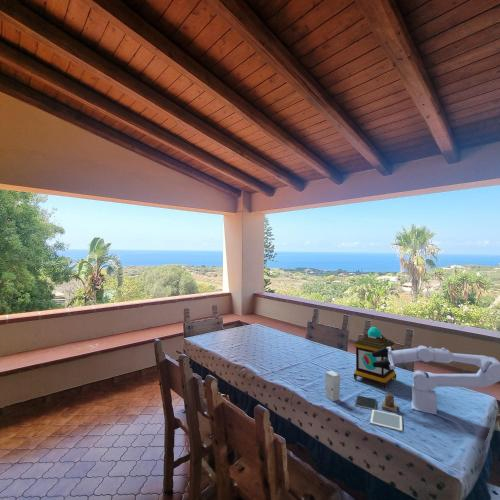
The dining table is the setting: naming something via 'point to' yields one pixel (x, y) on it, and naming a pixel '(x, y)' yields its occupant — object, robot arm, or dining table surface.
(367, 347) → the decorative lantern
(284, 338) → the dining table surface
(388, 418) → the marked board
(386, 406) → the stamp
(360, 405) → the ink pad
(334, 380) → the skincare box
